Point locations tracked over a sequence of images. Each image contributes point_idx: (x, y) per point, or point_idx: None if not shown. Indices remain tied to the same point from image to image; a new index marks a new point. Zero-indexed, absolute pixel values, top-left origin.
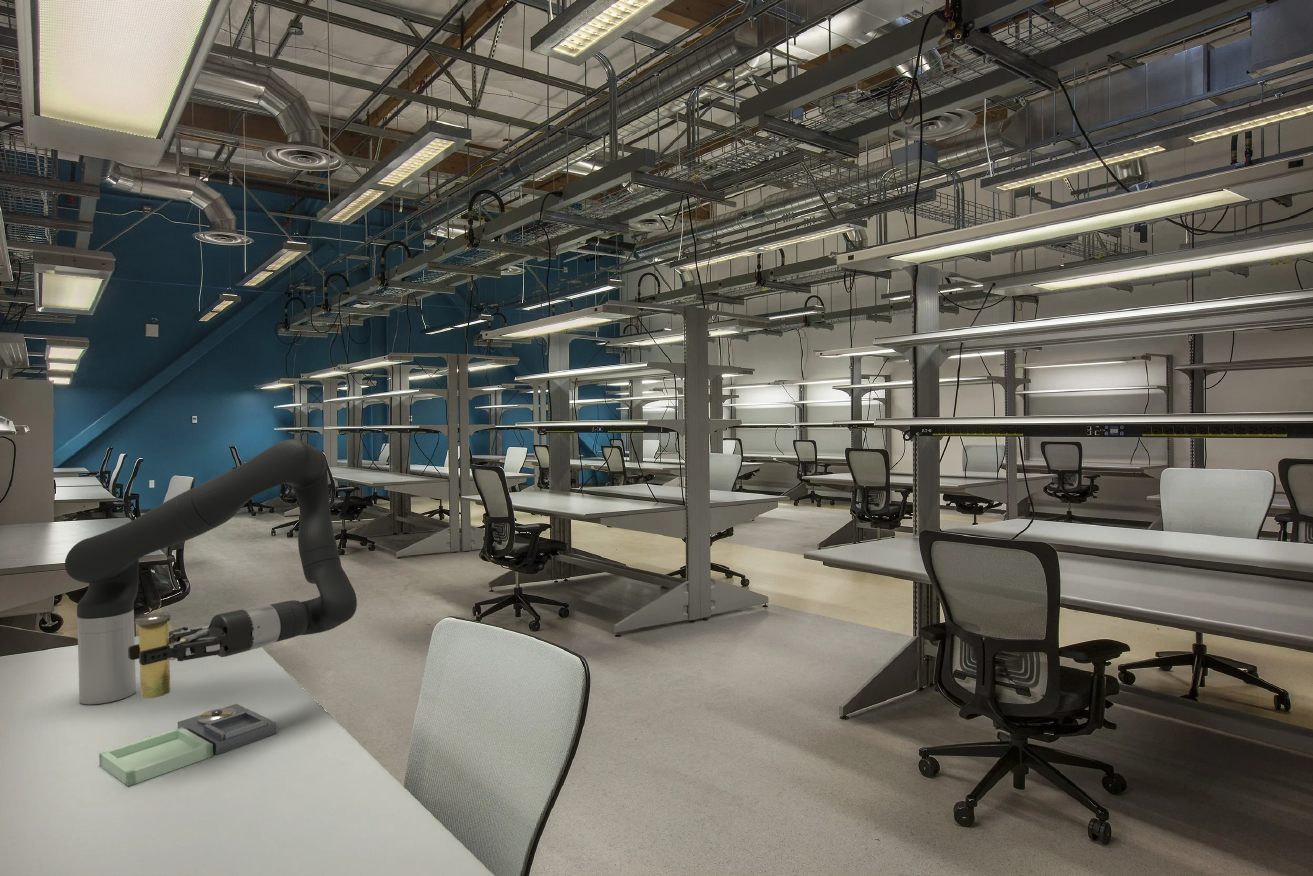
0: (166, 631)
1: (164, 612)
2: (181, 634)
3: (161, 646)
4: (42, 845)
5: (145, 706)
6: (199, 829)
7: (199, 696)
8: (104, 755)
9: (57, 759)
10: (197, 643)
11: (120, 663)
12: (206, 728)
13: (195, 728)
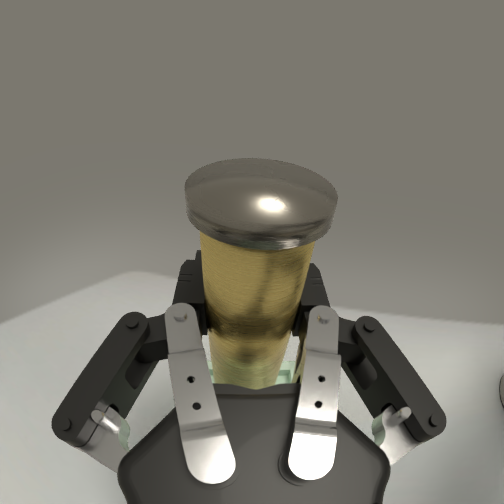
0: (209, 268)
1: (312, 217)
2: (299, 384)
3: (201, 292)
4: (141, 286)
5: (475, 435)
6: (35, 351)
7: (470, 497)
8: (282, 363)
9: None
10: (90, 361)
11: None
12: None
13: None
